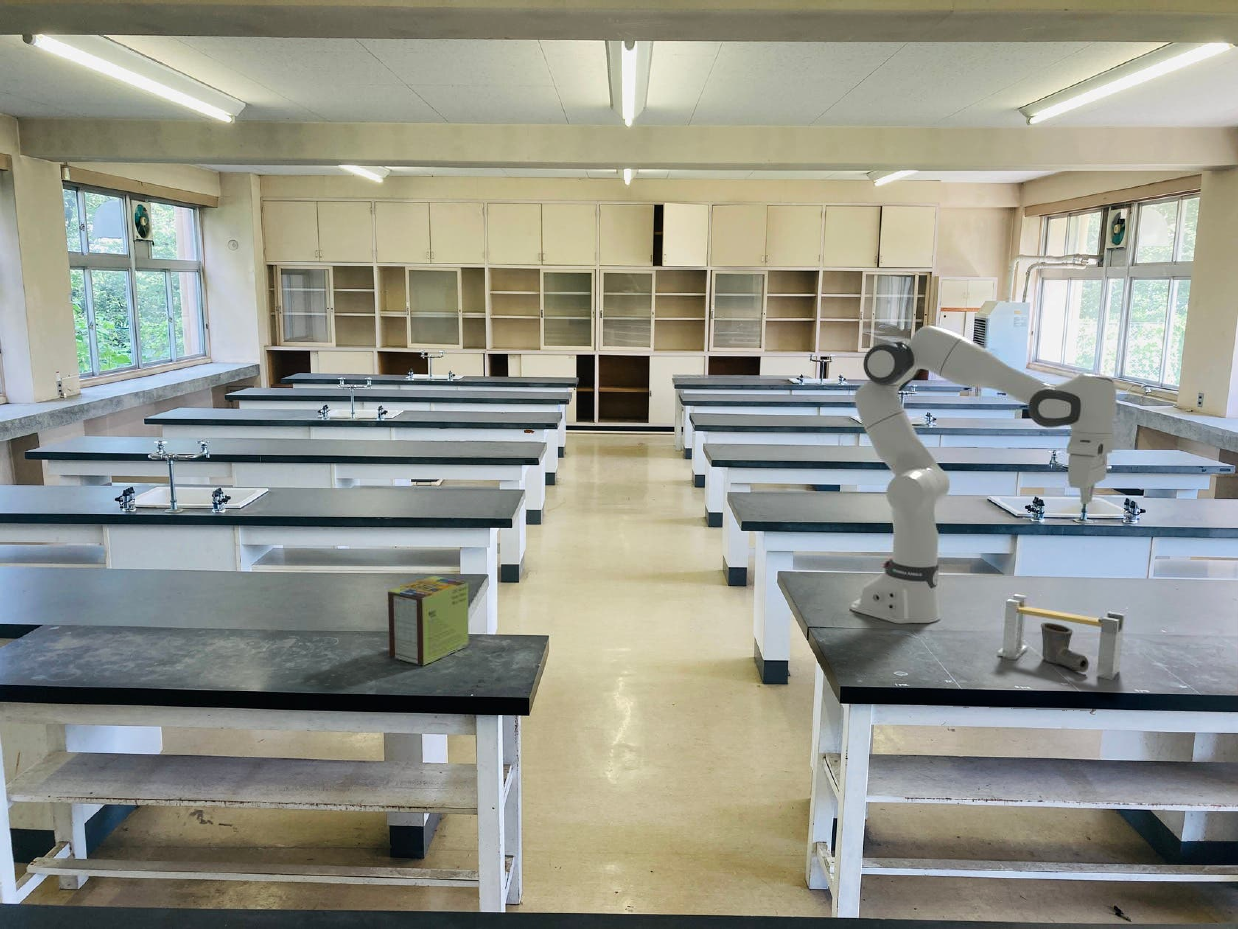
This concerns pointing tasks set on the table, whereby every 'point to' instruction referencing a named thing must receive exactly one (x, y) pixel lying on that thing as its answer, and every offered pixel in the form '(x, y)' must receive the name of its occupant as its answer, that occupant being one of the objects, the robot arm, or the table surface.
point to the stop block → (1110, 645)
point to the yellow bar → (1061, 616)
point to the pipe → (1061, 647)
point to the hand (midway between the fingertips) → (1086, 502)
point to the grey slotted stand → (1013, 629)
